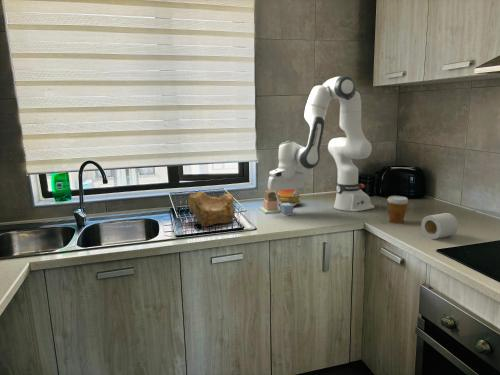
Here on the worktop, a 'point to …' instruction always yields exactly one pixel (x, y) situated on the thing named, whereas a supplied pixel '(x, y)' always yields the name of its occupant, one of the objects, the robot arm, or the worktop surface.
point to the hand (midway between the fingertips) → (286, 197)
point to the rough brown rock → (211, 208)
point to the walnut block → (269, 195)
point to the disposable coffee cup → (397, 208)
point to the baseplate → (269, 211)
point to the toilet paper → (439, 225)
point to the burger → (288, 197)
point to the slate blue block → (286, 208)
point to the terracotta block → (270, 205)
